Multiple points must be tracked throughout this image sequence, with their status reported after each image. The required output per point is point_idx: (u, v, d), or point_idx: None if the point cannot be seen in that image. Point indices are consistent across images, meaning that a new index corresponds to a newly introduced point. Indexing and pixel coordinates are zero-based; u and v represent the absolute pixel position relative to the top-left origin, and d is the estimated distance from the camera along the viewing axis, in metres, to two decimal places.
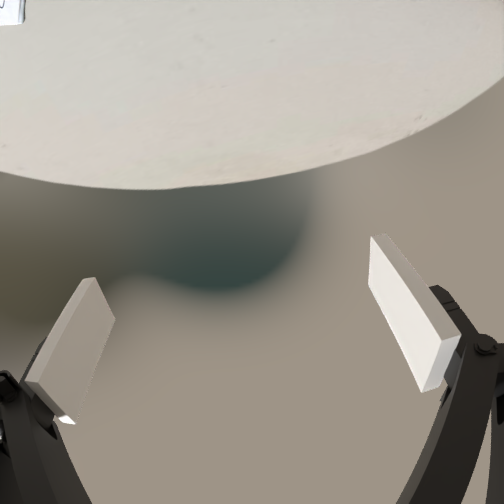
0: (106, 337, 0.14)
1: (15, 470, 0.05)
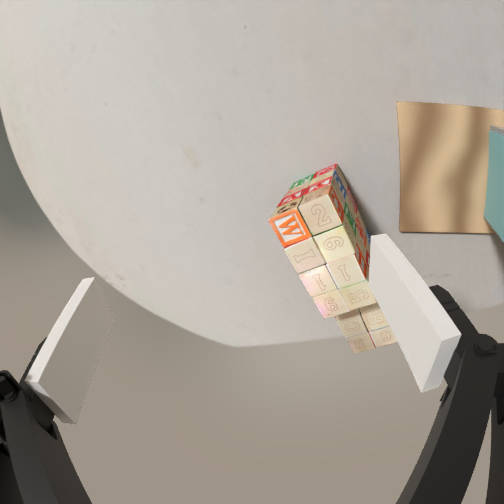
0: (106, 337, 0.14)
1: (15, 470, 0.05)
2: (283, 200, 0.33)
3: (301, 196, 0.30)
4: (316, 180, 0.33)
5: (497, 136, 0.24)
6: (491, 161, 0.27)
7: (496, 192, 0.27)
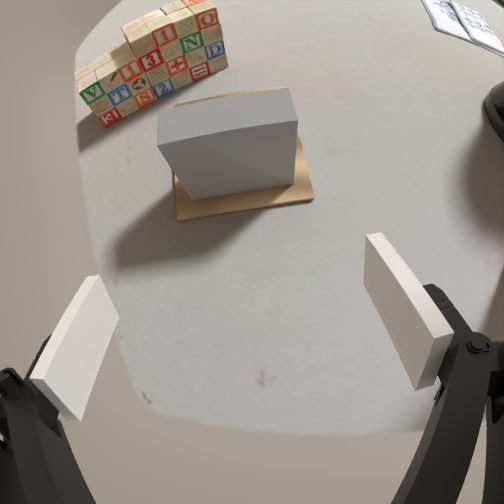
0: (110, 334, 0.14)
1: (18, 468, 0.05)
2: None
3: None
4: None
5: None
6: None
7: None
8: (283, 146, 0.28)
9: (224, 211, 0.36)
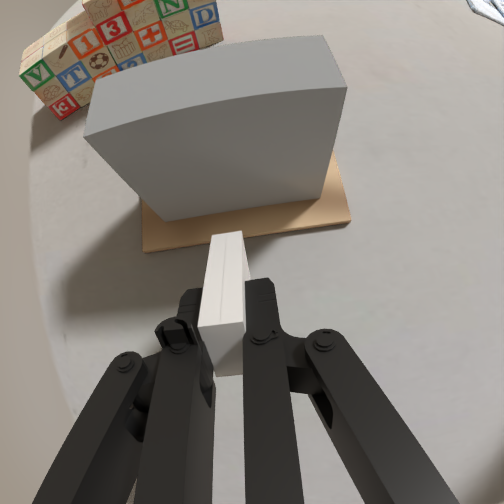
0: None
1: (146, 435, 0.07)
2: None
3: None
4: None
5: None
6: None
7: None
8: (314, 137, 0.15)
9: None
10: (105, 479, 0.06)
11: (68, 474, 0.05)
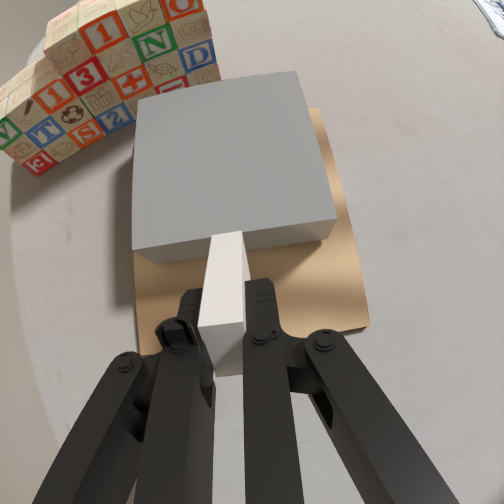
0: None
1: (146, 435, 0.07)
2: None
3: None
4: None
5: None
6: None
7: None
8: (289, 108, 0.19)
9: None
10: (105, 479, 0.06)
11: (68, 474, 0.05)
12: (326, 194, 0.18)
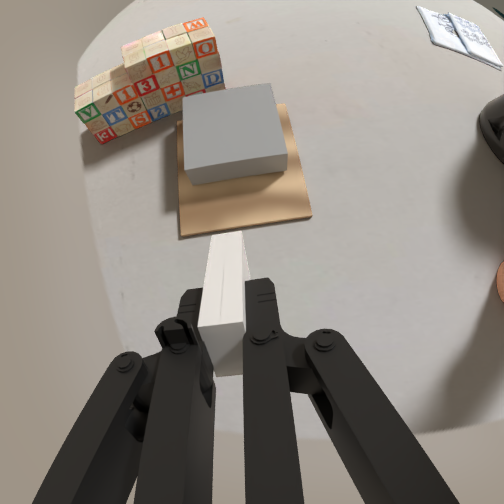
0: None
1: (146, 435, 0.07)
2: None
3: None
4: None
5: None
6: None
7: None
8: (266, 103, 0.37)
9: (226, 228, 0.38)
10: (105, 479, 0.06)
11: (68, 474, 0.05)
12: (282, 143, 0.35)
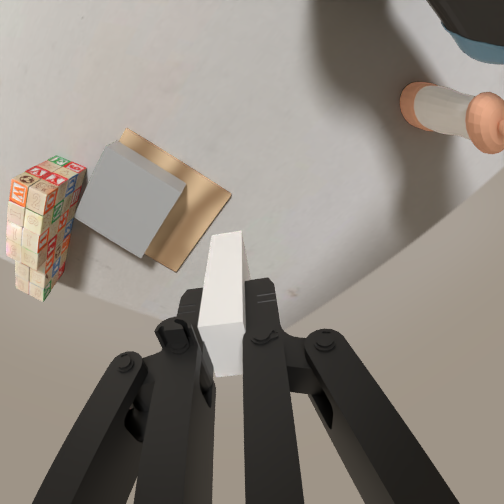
0: None
1: (146, 435, 0.07)
2: (34, 168, 0.34)
3: (40, 178, 0.33)
4: (60, 171, 0.37)
5: None
6: None
7: None
8: (124, 167, 0.37)
9: (193, 246, 0.49)
10: (105, 479, 0.06)
11: (68, 474, 0.05)
12: (170, 188, 0.39)
